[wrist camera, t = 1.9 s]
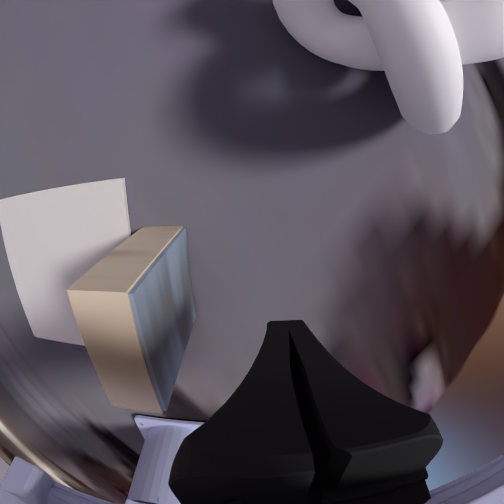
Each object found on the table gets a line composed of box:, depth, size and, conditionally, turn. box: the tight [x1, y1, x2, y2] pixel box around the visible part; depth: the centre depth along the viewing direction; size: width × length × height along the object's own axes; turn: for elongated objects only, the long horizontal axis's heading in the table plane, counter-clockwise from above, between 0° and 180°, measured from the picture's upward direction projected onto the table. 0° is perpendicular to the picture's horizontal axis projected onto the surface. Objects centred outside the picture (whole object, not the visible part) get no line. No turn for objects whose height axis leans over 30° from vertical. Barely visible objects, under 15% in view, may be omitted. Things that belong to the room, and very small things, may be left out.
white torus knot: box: [272, 0, 504, 135], centre depth 8 cm, size 11×12×9 cm
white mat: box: [0, 178, 131, 346], centre depth 17 cm, size 12×12×1 cm
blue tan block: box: [67, 226, 196, 414], centre depth 13 cm, size 6×3×8 cm, turn 1°
